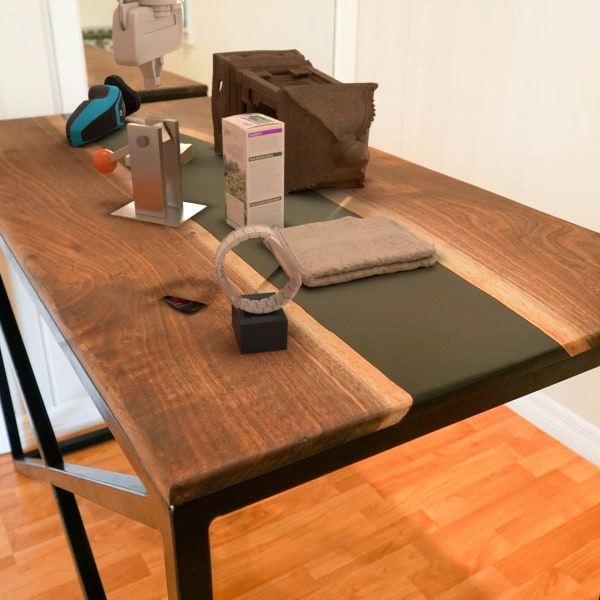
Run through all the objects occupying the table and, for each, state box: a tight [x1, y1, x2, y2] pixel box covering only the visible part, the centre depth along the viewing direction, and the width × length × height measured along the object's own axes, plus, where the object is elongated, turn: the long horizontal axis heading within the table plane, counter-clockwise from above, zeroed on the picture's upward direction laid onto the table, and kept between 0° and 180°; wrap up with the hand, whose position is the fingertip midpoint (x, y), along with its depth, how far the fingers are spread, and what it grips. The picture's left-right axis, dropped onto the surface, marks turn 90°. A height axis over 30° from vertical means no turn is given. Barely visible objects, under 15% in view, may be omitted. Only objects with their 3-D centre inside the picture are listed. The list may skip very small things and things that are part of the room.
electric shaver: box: [65, 74, 142, 148], centre depth 124 cm, size 9×26×10 cm
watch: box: [213, 224, 304, 355], centre depth 60 cm, size 6×8×11 cm
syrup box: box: [222, 113, 285, 230], centre depth 81 cm, size 6×6×14 cm
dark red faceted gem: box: [157, 294, 208, 313], centre depth 68 cm, size 5×5×1 cm
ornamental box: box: [210, 48, 379, 196], centre depth 101 cm, size 35×18×18 cm, turn 27°
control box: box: [124, 142, 194, 167], centre depth 108 cm, size 10×8×4 cm
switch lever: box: [91, 122, 171, 175], centre depth 85 cm, size 12×3×3 cm, turn 69°
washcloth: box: [262, 215, 437, 288], centre depth 78 cm, size 12×18×3 cm, turn 116°
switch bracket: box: [110, 115, 208, 229], centre depth 85 cm, size 10×8×13 cm
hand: (153, 87), depth 103 cm, fingers closed
